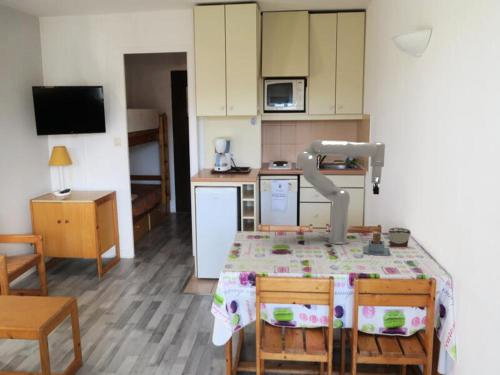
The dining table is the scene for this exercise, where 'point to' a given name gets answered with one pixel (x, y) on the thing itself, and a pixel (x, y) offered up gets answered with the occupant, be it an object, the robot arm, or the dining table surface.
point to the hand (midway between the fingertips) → (375, 192)
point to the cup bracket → (376, 249)
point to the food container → (399, 237)
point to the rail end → (376, 237)
